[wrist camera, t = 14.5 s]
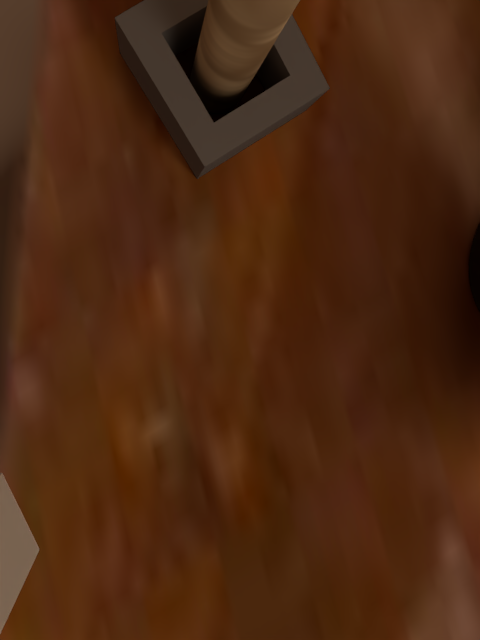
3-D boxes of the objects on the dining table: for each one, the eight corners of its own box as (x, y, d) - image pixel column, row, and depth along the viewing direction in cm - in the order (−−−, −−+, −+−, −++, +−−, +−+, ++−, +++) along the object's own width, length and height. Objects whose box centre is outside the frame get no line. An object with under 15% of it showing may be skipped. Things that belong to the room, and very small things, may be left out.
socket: (237, -17, 33) (252, -64, 28) (305, 110, 35) (329, 88, 30) (119, 52, 32) (114, 17, 27) (197, 178, 35) (204, 166, 30)
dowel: (224, 45, 34) (276, -95, 20) (252, 96, 34) (320, -6, 21) (179, 73, 33) (200, -51, 20) (208, 123, 34) (248, 38, 21)
